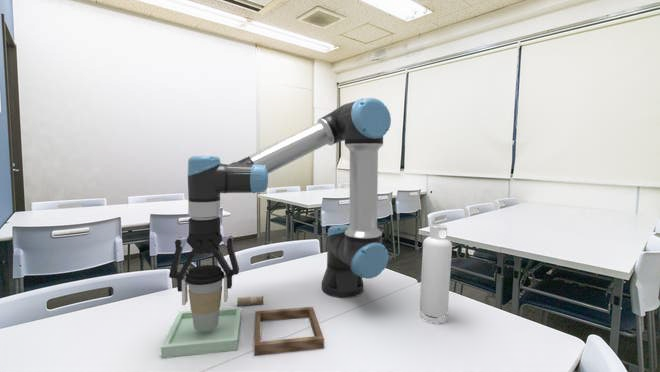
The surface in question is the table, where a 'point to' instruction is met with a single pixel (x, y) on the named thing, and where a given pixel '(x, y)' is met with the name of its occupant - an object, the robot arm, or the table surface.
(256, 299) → the birch dowel
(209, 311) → the coffee cup
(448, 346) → the table surface
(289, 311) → the walnut frame
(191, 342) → the sage tray
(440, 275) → the bottle
